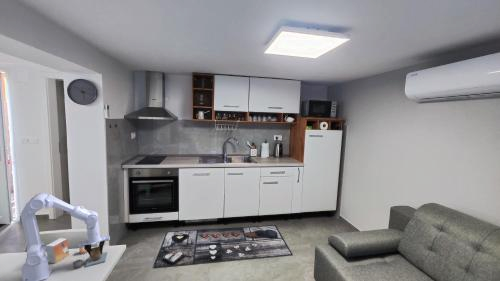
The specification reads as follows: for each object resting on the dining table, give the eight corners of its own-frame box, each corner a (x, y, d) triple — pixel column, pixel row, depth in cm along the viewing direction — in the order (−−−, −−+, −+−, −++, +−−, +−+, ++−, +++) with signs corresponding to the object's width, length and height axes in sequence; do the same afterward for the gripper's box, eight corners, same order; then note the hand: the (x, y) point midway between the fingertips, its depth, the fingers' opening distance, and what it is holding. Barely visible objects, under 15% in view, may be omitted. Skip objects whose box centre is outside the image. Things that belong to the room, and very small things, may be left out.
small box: (55, 263, 126) (53, 246, 124) (47, 262, 127) (45, 245, 125) (69, 254, 133) (67, 238, 132) (62, 253, 134) (59, 237, 133)
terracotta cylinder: (78, 255, 133) (78, 250, 132) (81, 251, 137) (81, 246, 136) (86, 253, 134) (85, 249, 133) (89, 249, 138) (88, 245, 137)
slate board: (85, 267, 122) (85, 265, 122) (89, 257, 130) (89, 256, 130) (104, 262, 126) (104, 260, 126) (107, 253, 134) (107, 251, 134)
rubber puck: (72, 270, 120) (71, 265, 120) (74, 265, 124) (73, 260, 123) (81, 267, 122) (80, 263, 121) (83, 263, 125) (82, 258, 125)
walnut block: (91, 260, 125) (90, 252, 124) (92, 255, 129) (91, 248, 128) (100, 258, 127) (99, 250, 126) (101, 253, 131) (100, 245, 130)
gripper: (76, 240, 119) (79, 262, 121) (107, 233, 125) (110, 255, 127) (79, 233, 125) (82, 255, 127) (109, 227, 132) (111, 248, 133)
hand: (96, 254), depth 128 cm, fingers closed on walnut block, 4 cm apart
